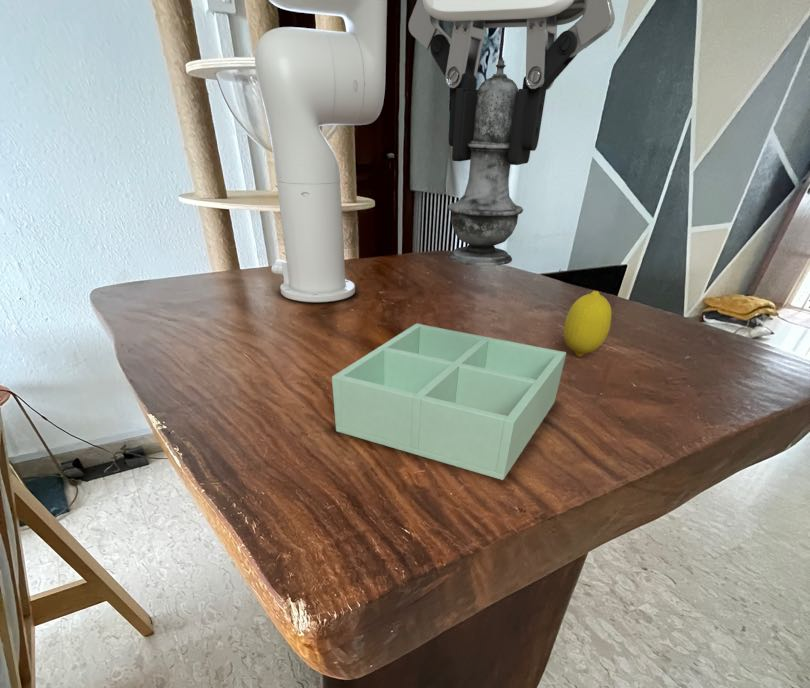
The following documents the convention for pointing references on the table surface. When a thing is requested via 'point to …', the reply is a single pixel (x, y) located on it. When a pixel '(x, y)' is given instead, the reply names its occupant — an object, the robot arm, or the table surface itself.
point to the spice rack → (449, 397)
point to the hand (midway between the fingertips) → (490, 158)
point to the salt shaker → (488, 178)
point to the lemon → (587, 323)
